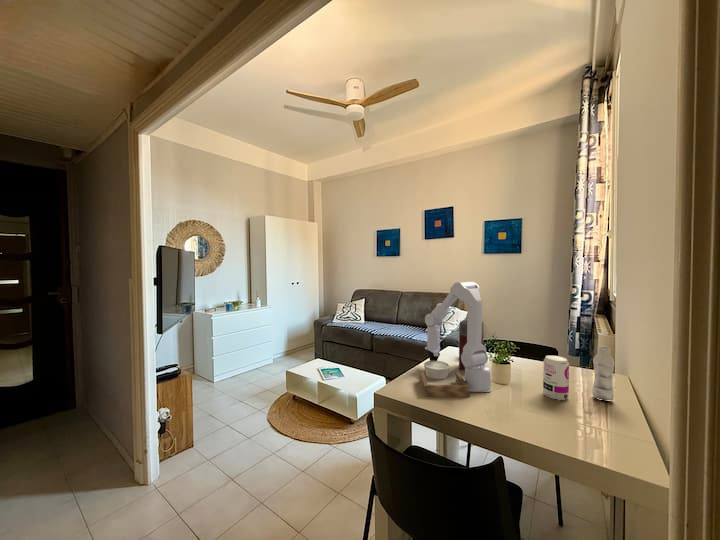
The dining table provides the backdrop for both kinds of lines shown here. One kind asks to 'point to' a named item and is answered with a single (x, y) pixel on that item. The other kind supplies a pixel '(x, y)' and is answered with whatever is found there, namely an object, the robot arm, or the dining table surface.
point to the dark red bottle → (464, 340)
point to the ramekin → (436, 369)
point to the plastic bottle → (603, 374)
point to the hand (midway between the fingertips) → (433, 366)
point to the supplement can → (556, 377)
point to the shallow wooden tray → (445, 388)
